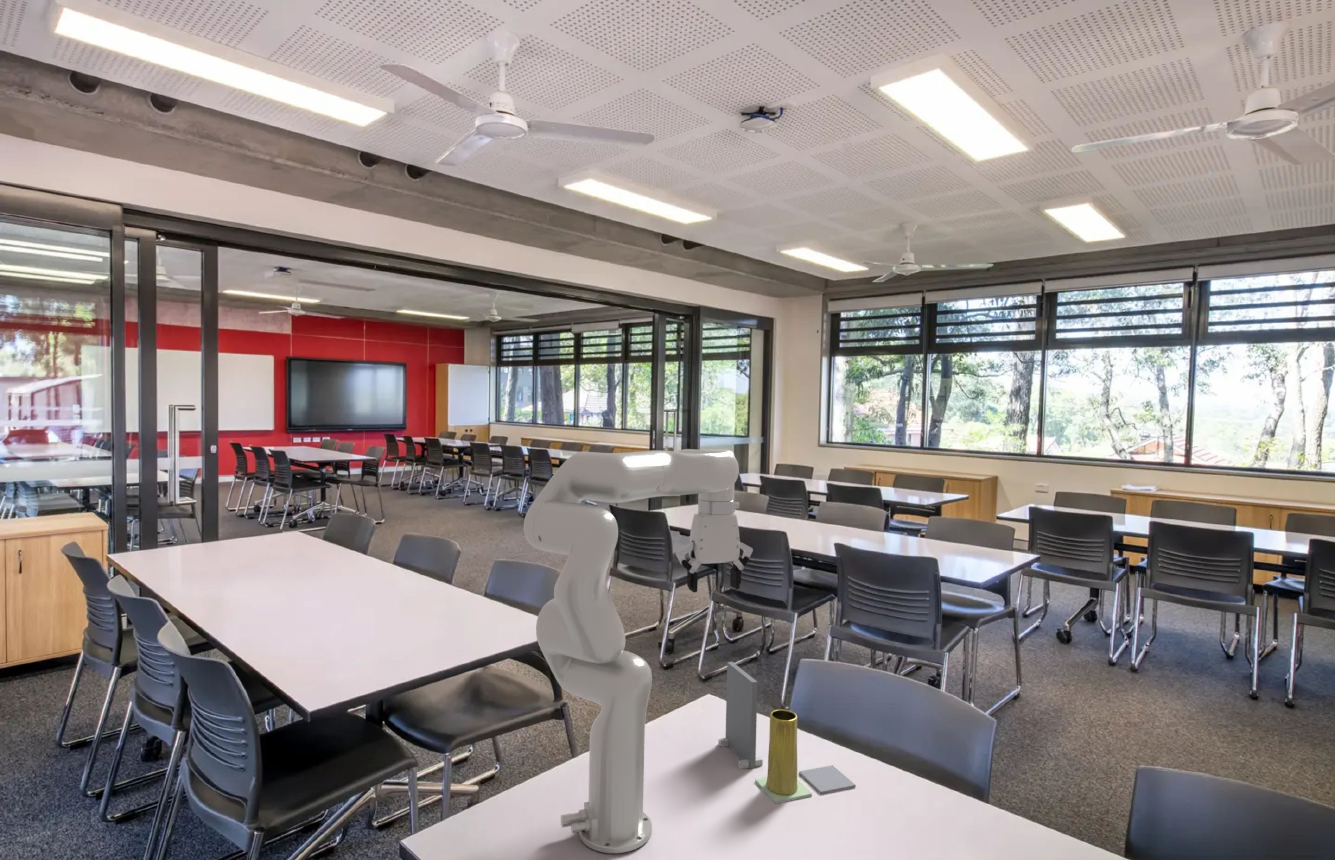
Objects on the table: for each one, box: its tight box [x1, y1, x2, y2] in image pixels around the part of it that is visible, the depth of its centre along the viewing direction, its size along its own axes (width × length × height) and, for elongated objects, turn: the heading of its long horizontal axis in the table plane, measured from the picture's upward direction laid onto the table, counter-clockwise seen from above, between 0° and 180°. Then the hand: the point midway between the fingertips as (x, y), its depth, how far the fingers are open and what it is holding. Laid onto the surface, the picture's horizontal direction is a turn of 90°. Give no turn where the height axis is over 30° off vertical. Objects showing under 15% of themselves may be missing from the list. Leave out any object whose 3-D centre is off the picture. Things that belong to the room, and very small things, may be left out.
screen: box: [717, 661, 764, 770], centre depth 148 cm, size 5×12×18 cm, turn 20°
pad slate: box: [798, 764, 857, 795], centre depth 139 cm, size 8×8×1 cm
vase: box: [766, 708, 798, 795], centre depth 135 cm, size 6×6×14 cm
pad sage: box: [754, 776, 813, 804], centre depth 135 cm, size 8×8×1 cm
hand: (714, 589), depth 145 cm, fingers open, 9 cm apart
